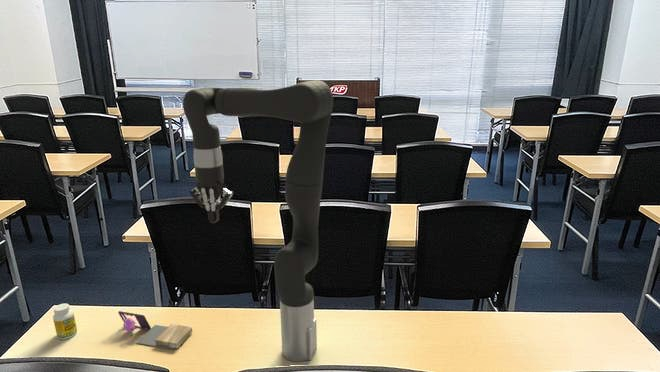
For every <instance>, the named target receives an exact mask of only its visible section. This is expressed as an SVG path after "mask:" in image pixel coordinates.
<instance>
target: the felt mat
mask: <svg viewBox="0 0 660 372" xmlns="http://www.w3.org/2000/svg"><path fill="white" fill-rule="evenodd" d="M168 327H169V326H165V325H159V324H154V325H153V326H152V327H151V329H150V330H149V329H148V331H147V332H146V333H145V334H144V335H142V337H140V338H139V340H137V342H136V344H138V345H142V346H148V347H154V348H159V349H165V350H170V351H173V350H174V349H175V348H172V347H167V346H161V345H156V341H155V340H156V339H157V338H158V337H159V336H160V335H161V334H162V333H163V332H164V331H165V330H166V329H167V328H168Z"/></svg>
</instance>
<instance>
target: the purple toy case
mask: <svg viewBox="0 0 660 372" xmlns="http://www.w3.org/2000/svg"><path fill="white" fill-rule="evenodd" d="M118 315H119V316H120V318H121V320H122V322H123V329H124V331H125V332H127V333H130V335H129V336H130V337H133V332H134V331H135V330H137V328H139V329H142V330H143V329H144V330H148V331H149V330H150V329H151V328H152V327H151V325H150V323H149V321H148V320H147V318H146V315H144V314H137V313H133V312H126V311H125V310H121V311H120V310H119V311H118ZM127 316H130V317H133V316H134V318H135V320H136V321H137V322H135V320H134V319H133V318H129V317H127ZM136 323H138V324H139V326H138V325H135V324H136Z"/></svg>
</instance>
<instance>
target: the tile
mask: <svg viewBox="0 0 660 372" xmlns="http://www.w3.org/2000/svg"><path fill="white" fill-rule="evenodd" d="M167 327H168V328H167V329H166V330H165V331H164V332H163V333H162V334H161V335H160V336H159V337H158V338H157V339H156V340H155V341H156V345H161V346H167V347H172V348H174V349H178V348H179V347H180V346H181V345H182V344H183V343H184V342H185V341H186V339H187V338H189V336H190V335H191V334H192V333H193V327H192V326H187V325H180V324H176V323H175V324H174V323H171V324H169V326H167Z"/></svg>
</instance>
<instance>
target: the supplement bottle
mask: <svg viewBox="0 0 660 372" xmlns="http://www.w3.org/2000/svg"><path fill="white" fill-rule="evenodd" d="M53 312H54V314H53V316H52V318H53V325H54V329H55V333H56V336H57V339H59V340H68V339H70V338H73V337H75V336H76V335H77V333H78V329H77V328H78V327H77V323H76V318H75V314H74V310H72V309H71V308H70V304H69V303H60V304H58V305H56V306H55V307H54V308H53Z"/></svg>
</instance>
